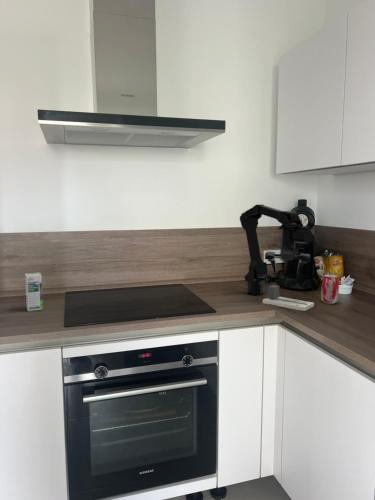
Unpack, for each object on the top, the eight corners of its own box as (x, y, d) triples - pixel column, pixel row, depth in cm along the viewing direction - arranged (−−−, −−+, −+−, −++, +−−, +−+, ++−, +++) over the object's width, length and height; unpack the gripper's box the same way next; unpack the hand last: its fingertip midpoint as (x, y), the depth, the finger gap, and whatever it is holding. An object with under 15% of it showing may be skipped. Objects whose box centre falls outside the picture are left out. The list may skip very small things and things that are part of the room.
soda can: (319, 303, 169) (320, 276, 168) (322, 299, 175) (323, 273, 174) (336, 305, 166) (338, 277, 164) (338, 301, 172) (340, 275, 171)
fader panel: (262, 303, 168) (262, 299, 168) (273, 298, 176) (273, 295, 176) (304, 311, 156) (304, 307, 156) (314, 306, 164) (314, 302, 164)
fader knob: (267, 297, 169) (267, 286, 169) (272, 295, 173) (273, 284, 172) (273, 298, 167) (274, 287, 167) (279, 296, 171) (279, 285, 171)
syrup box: (27, 311, 152) (26, 275, 150) (26, 307, 157) (24, 272, 155) (43, 309, 154) (41, 274, 153) (41, 306, 160) (39, 271, 158)
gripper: (264, 241, 161) (262, 278, 163) (311, 244, 156) (308, 282, 158) (266, 238, 172) (264, 273, 174) (310, 241, 167) (308, 276, 169)
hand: (286, 276), depth 168 cm, fingers open, 9 cm apart
